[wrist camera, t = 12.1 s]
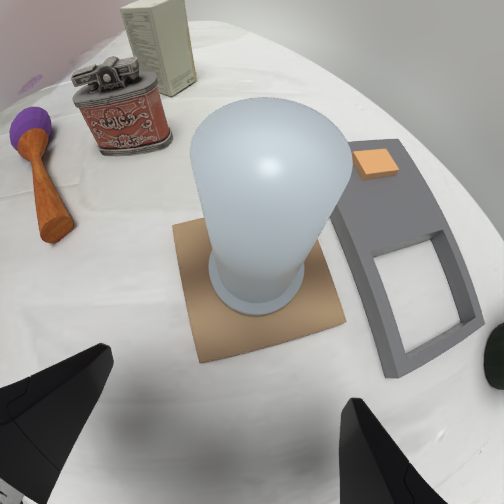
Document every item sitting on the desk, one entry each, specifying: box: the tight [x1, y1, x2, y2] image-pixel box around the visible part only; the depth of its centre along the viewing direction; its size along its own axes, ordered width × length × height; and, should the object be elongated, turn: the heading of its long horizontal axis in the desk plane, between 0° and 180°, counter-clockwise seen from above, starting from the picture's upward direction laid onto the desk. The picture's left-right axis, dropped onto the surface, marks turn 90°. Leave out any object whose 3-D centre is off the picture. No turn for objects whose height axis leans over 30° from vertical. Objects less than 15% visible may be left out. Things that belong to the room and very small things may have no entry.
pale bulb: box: [190, 97, 353, 317], centre depth 13 cm, size 6×6×12 cm
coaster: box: [172, 218, 346, 363], centre depth 19 cm, size 10×10×1 cm
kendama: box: [10, 107, 73, 243], centre depth 21 cm, size 6×6×20 cm
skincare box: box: [120, 0, 197, 97], centre depth 23 cm, size 6×4×12 cm
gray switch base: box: [330, 139, 485, 378], centre depth 19 cm, size 19×10×3 cm, turn 15°
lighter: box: [71, 56, 173, 156], centre depth 20 cm, size 8×3×10 cm, turn 89°
